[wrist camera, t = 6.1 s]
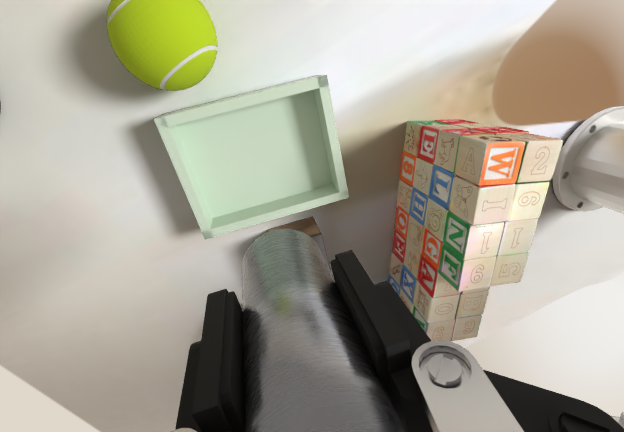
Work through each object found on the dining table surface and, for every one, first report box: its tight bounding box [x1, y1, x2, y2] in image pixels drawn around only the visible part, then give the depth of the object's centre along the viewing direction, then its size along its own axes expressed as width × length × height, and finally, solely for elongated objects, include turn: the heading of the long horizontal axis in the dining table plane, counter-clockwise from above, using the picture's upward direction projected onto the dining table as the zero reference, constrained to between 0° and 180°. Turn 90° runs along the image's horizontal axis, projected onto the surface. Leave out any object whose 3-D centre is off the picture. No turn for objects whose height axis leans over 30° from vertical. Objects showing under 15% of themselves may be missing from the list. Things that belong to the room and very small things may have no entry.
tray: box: [154, 75, 349, 239], centre depth 29 cm, size 14×11×3 cm
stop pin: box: [242, 229, 405, 432], centre depth 8 cm, size 4×4×11 cm
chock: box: [268, 216, 330, 270], centre depth 34 cm, size 5×5×4 cm
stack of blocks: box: [388, 120, 563, 341], centre depth 32 cm, size 21×6×12 cm, turn 0°
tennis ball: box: [107, 0, 217, 91], centre depth 23 cm, size 7×7×7 cm
